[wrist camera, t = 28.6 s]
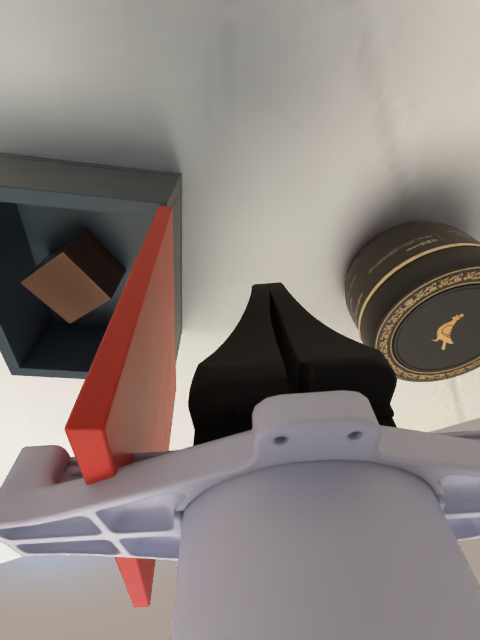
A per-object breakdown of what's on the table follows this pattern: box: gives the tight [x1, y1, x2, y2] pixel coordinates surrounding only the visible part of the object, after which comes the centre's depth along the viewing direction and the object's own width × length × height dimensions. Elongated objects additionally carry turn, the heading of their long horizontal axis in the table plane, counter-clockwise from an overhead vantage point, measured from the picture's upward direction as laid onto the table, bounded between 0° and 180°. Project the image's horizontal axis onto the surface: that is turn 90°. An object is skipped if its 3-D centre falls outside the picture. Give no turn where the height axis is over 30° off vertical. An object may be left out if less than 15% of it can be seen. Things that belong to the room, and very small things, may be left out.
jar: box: [345, 221, 480, 382], centre depth 23 cm, size 10×10×8 cm
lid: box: [65, 206, 176, 607], centre depth 15 cm, size 12×14×1 cm
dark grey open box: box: [0, 153, 182, 379], centre depth 22 cm, size 12×14×6 cm
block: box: [20, 228, 127, 324], centre depth 22 cm, size 4×4×4 cm
